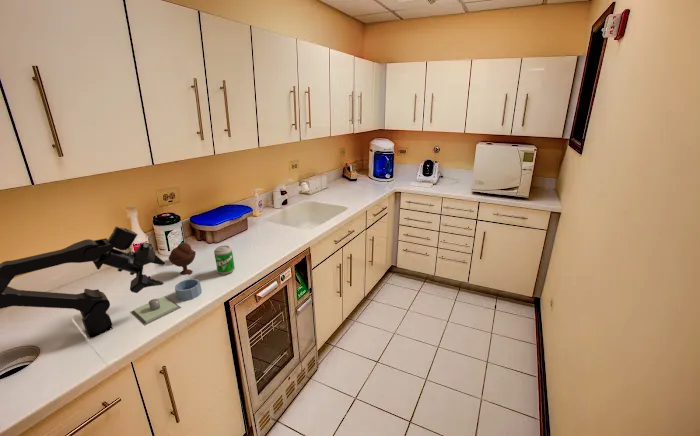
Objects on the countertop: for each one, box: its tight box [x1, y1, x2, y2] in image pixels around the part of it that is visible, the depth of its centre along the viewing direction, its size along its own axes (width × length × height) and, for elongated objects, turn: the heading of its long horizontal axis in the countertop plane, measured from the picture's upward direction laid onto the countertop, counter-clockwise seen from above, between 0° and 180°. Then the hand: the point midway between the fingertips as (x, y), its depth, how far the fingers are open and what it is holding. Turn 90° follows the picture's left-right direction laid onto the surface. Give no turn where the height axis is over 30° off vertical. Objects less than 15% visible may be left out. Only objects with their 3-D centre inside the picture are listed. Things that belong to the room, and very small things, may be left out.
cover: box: [133, 295, 178, 323], centre depth 121 cm, size 11×11×4 cm
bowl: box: [174, 278, 202, 302], centre depth 131 cm, size 9×9×5 cm
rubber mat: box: [129, 295, 182, 326], centre depth 122 cm, size 13×13×1 cm
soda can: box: [213, 244, 235, 276], centre depth 147 cm, size 8×8×12 cm
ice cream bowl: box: [167, 242, 197, 276], centre depth 146 cm, size 11×11×15 cm
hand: (163, 273), depth 123 cm, fingers open, 9 cm apart
